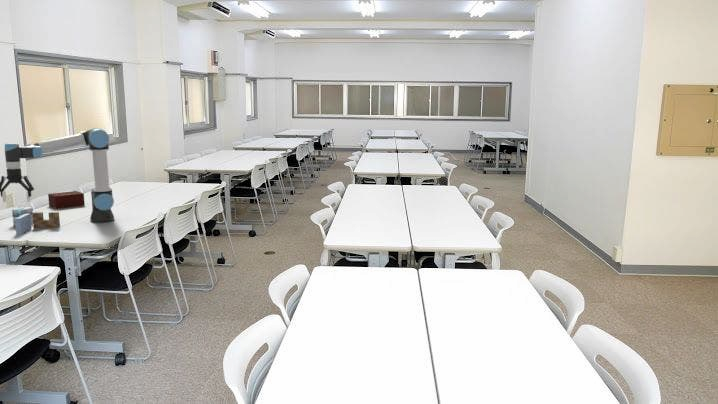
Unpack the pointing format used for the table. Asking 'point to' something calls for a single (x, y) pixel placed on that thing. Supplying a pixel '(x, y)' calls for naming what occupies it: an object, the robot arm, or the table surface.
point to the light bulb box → (22, 211)
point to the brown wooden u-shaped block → (46, 220)
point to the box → (66, 199)
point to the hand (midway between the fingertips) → (16, 201)
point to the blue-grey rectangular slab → (23, 223)
